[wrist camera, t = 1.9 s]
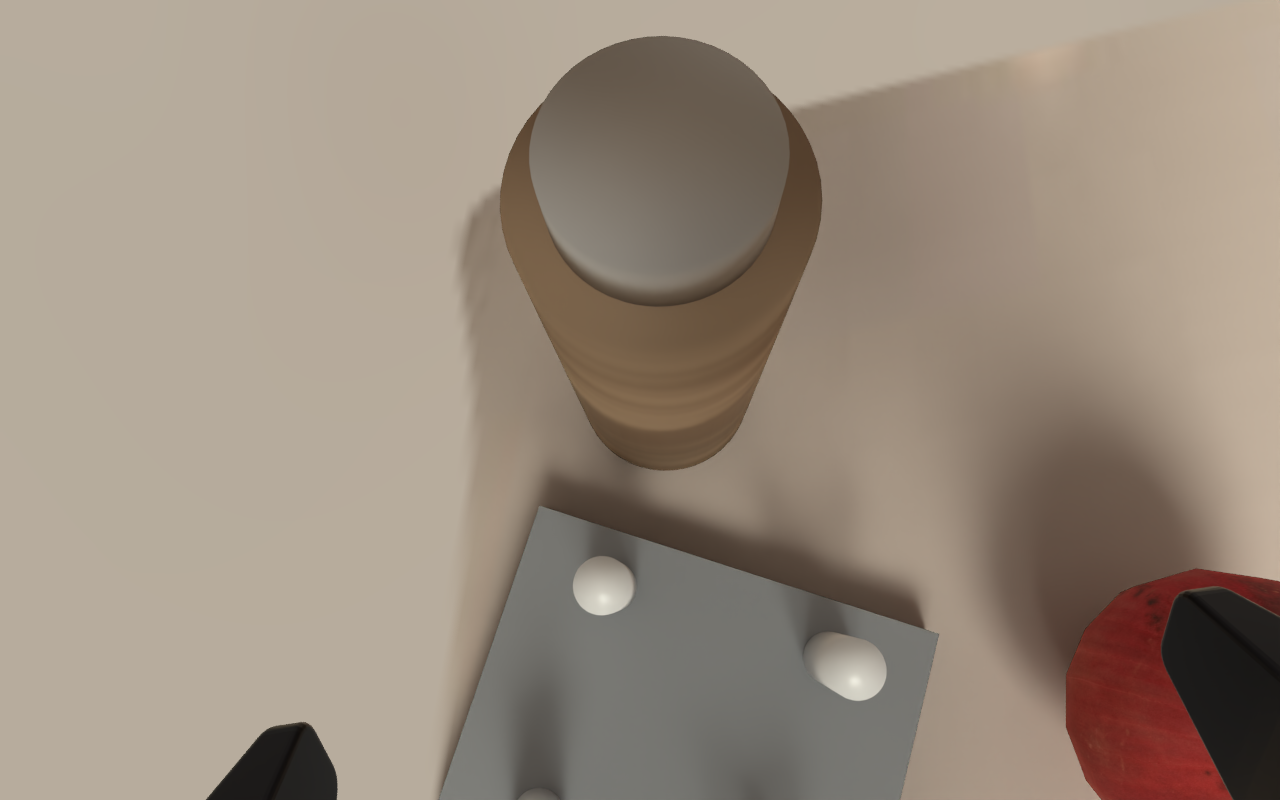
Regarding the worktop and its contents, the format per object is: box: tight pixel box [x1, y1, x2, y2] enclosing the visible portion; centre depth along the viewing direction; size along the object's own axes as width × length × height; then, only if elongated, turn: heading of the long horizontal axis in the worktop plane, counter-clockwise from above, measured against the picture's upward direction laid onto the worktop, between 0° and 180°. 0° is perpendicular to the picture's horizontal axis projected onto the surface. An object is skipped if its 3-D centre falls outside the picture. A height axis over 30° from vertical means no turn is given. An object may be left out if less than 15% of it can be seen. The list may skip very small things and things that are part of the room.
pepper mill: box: [500, 36, 822, 470], centre depth 16 cm, size 4×4×12 cm
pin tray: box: [439, 506, 939, 800], centre depth 19 cm, size 8×10×4 cm
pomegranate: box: [1066, 569, 1280, 800], centre depth 16 cm, size 6×6×8 cm
